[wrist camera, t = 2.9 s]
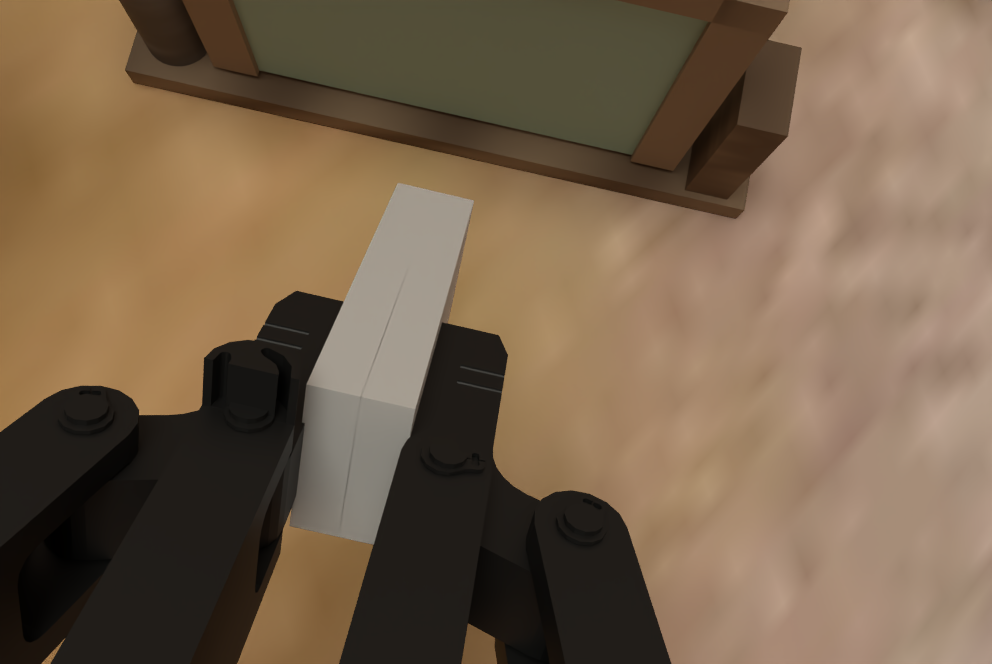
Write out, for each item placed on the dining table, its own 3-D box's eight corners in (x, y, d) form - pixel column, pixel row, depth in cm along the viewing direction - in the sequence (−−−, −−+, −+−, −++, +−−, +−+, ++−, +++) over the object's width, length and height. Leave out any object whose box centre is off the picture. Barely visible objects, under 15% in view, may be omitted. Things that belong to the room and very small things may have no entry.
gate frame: (133, 82, 35) (-33, -163, 22) (159, -2, 36) (12, -286, 23) (735, 218, 36) (906, 56, 23) (749, 133, 37) (922, -70, 24)
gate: (213, 66, 34) (113, -145, 23) (228, 16, 35) (135, -215, 24) (672, 170, 35) (787, 12, 24) (682, 120, 35) (799, -59, 24)
